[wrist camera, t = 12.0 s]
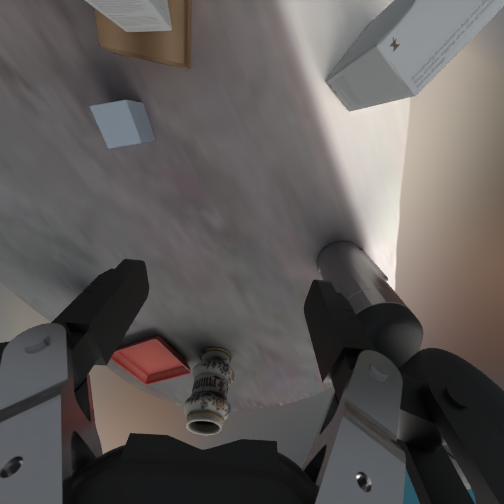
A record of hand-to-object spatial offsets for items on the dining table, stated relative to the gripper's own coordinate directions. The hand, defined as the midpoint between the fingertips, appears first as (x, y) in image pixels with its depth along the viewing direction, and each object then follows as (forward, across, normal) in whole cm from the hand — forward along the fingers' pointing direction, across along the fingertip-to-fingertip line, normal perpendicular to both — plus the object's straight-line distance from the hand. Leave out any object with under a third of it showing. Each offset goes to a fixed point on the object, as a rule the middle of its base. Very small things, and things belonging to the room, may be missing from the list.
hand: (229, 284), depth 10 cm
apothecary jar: (+30, +3, +56) cm, 64 cm away
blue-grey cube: (+30, +18, -4) cm, 35 cm away
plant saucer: (+31, +22, +58) cm, 69 cm away
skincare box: (+30, -14, -15) cm, 37 cm away
